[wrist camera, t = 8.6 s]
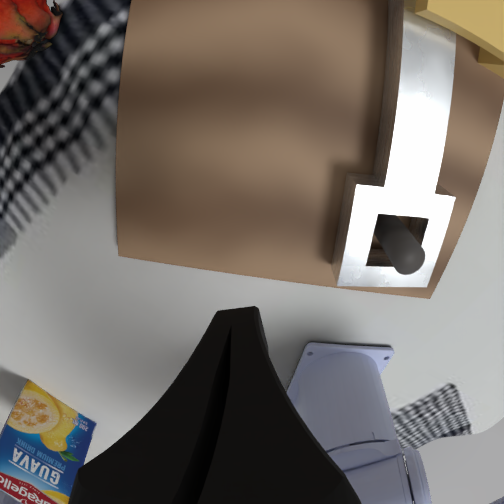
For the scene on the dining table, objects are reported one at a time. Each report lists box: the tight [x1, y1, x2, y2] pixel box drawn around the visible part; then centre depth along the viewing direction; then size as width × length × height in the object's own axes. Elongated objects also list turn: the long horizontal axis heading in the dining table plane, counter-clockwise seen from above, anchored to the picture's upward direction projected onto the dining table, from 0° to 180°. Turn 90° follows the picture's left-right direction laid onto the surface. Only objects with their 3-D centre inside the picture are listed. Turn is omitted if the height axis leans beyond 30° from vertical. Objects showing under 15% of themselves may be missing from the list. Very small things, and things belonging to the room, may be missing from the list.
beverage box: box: [0, 379, 97, 504], centre depth 25 cm, size 7×11×22 cm, turn 45°
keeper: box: [415, 0, 504, 79], centre depth 10 cm, size 3×8×4 cm, turn 81°
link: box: [331, 0, 456, 287], centre depth 14 cm, size 17×6×2 cm, turn 178°
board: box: [116, 0, 504, 299], centre depth 14 cm, size 20×22×5 cm
